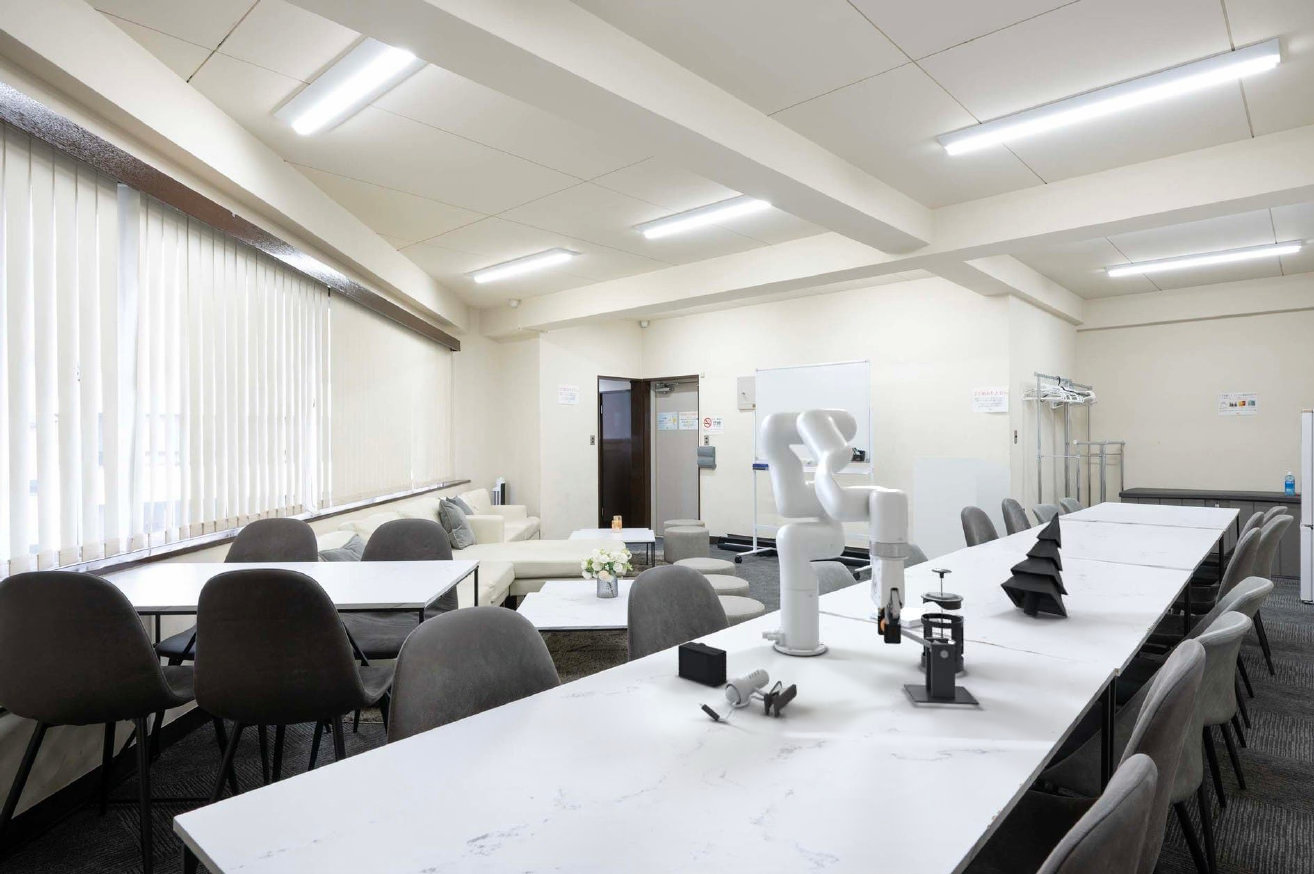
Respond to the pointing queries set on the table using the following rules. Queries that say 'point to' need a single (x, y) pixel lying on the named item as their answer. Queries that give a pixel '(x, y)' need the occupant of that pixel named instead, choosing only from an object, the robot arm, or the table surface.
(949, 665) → the switch bracket
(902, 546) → the robot arm
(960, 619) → the french press
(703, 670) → the digital camera
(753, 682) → the clip-on lamp
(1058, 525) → the decorative tree
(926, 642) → the switch lever
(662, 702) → the table surface
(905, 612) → the mounting plate
